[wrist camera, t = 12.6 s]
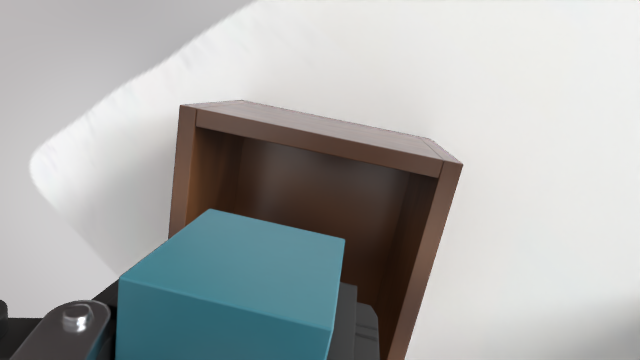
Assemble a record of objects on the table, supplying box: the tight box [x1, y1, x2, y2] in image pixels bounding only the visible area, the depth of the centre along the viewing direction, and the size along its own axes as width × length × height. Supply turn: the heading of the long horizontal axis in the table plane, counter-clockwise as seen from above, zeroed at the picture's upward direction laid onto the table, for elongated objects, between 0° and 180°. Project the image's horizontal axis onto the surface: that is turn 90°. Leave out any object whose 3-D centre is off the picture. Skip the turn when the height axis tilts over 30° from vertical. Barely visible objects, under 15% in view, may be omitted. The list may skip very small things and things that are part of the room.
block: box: [115, 209, 345, 360], centre depth 10 cm, size 4×4×4 cm
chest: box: [168, 100, 463, 360], centre depth 24 cm, size 17×14×9 cm
